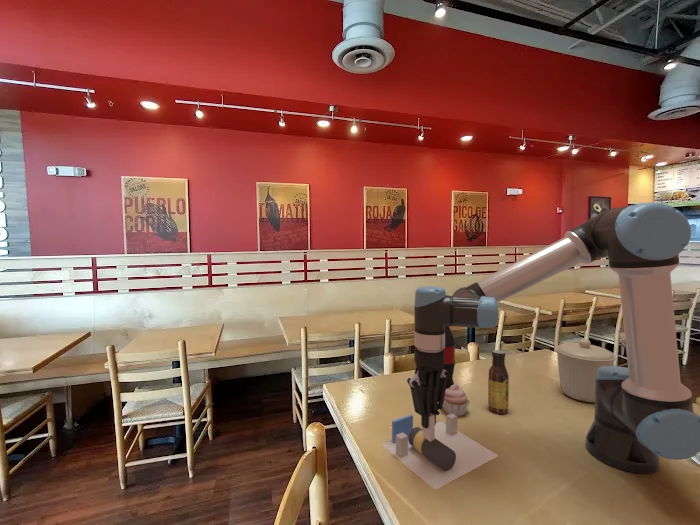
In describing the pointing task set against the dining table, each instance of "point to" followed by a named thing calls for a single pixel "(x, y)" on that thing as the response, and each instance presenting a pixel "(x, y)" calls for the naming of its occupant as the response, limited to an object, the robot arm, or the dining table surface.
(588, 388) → the canister
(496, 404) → the sauce bottle
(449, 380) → the cola bottle
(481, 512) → the dining table surface
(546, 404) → the dining table surface
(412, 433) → the banded cylinder post
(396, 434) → the white base plate
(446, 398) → the cupcake
